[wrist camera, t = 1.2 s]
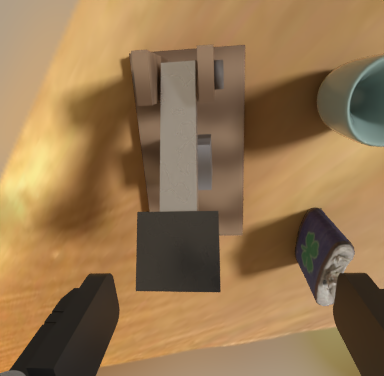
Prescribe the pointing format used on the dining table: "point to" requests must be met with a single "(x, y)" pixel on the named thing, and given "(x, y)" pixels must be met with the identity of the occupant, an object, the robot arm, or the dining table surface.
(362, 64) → the cup
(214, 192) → the frame
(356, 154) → the dining table surface
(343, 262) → the flask
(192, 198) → the lever
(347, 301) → the robot arm
